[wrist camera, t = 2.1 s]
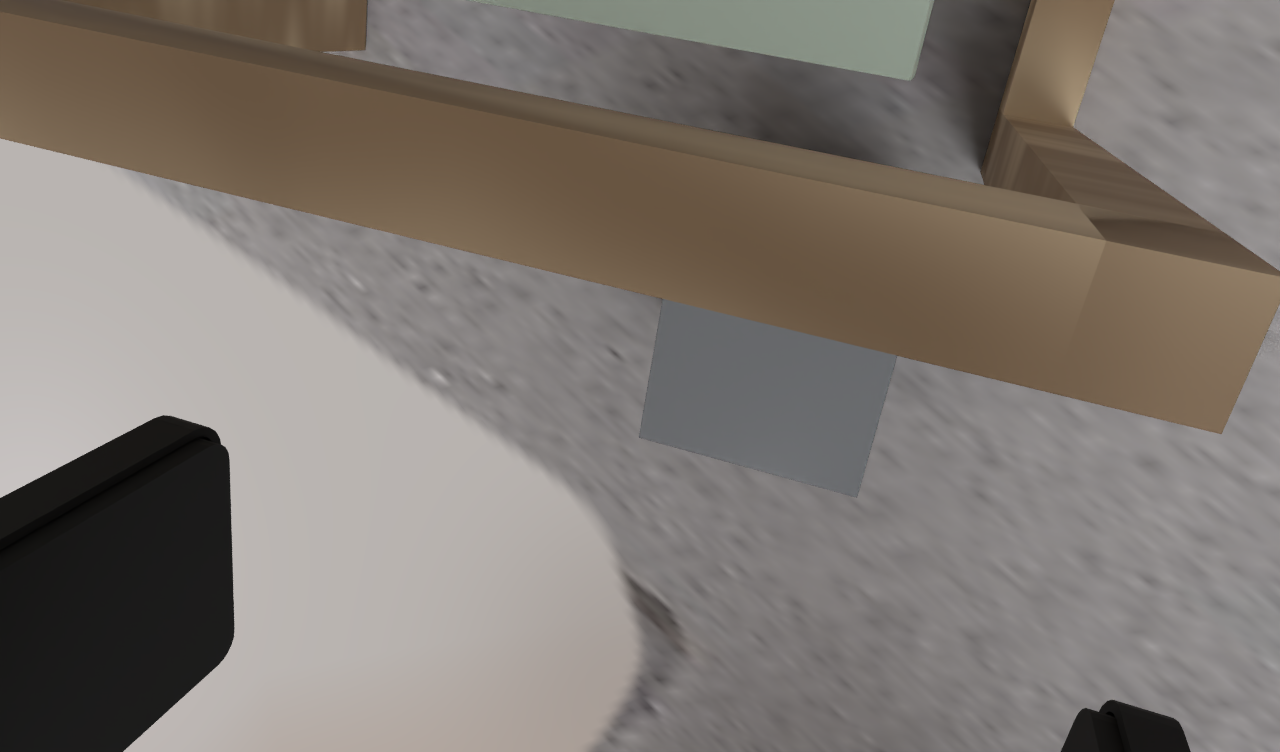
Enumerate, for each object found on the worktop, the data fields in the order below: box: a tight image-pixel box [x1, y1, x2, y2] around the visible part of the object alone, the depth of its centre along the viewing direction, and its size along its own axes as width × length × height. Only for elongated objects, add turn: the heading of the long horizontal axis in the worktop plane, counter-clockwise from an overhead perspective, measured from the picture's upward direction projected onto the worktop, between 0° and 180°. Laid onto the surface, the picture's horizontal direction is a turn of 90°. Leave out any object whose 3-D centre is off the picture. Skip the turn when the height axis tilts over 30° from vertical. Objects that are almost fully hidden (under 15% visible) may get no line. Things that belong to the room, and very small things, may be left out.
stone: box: [639, 299, 897, 498], centre depth 22 cm, size 5×5×6 cm
